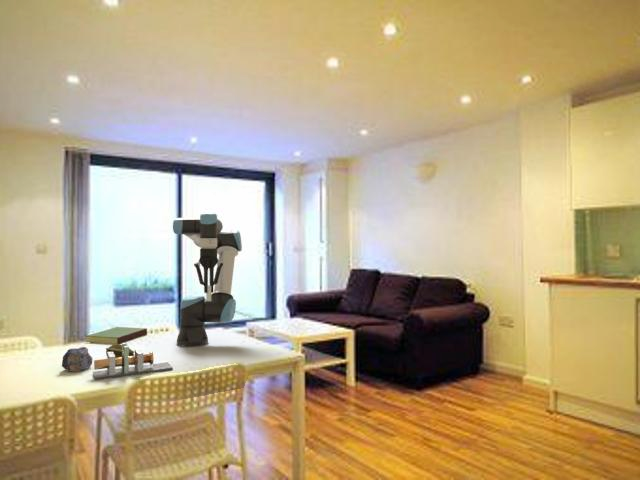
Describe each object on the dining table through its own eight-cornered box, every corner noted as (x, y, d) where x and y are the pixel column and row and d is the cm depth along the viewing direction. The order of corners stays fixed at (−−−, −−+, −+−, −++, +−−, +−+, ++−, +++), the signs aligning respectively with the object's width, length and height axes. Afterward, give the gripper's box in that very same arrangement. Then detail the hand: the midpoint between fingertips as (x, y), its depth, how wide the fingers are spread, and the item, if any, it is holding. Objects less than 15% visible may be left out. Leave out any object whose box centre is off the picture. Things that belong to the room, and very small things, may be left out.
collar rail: (92, 374, 176) (93, 345, 177) (167, 364, 190) (167, 338, 190) (94, 380, 169) (94, 350, 169) (172, 370, 183) (172, 342, 183)
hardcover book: (118, 345, 228) (118, 337, 228) (85, 343, 232) (85, 335, 232) (147, 334, 252) (147, 328, 252) (117, 333, 256) (117, 326, 256)
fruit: (104, 365, 190) (104, 349, 190) (105, 358, 201) (106, 343, 201) (134, 362, 194) (134, 346, 194) (134, 355, 205) (134, 340, 205)
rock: (67, 359, 189) (76, 339, 187) (90, 370, 189) (99, 351, 187) (51, 371, 178) (61, 351, 176) (76, 383, 179) (85, 363, 177)
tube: (94, 370, 175) (94, 356, 175) (151, 363, 185) (151, 350, 185) (94, 373, 170) (95, 359, 170) (153, 366, 181) (153, 353, 181)
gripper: (195, 248, 199) (196, 302, 200) (225, 247, 205) (225, 300, 206) (192, 247, 206) (192, 300, 206) (220, 247, 212) (220, 298, 212)
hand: (208, 300), depth 206 cm, fingers closed
